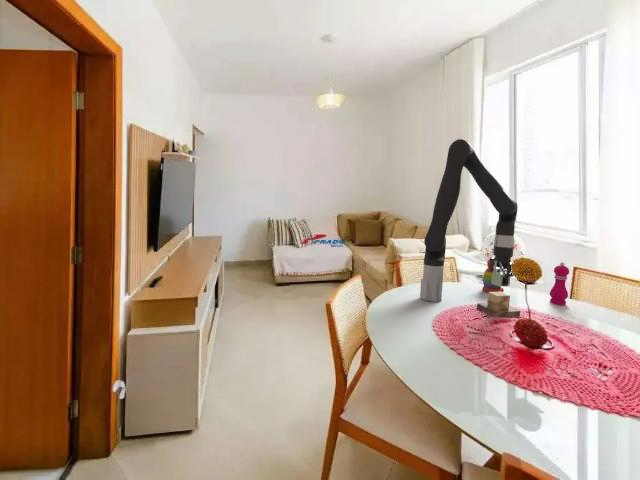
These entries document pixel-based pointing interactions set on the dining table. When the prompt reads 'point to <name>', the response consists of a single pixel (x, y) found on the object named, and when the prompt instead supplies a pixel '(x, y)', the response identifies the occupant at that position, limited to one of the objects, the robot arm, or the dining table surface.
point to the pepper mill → (559, 285)
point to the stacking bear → (490, 281)
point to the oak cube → (498, 300)
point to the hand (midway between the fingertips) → (500, 283)
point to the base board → (498, 312)
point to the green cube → (498, 279)
